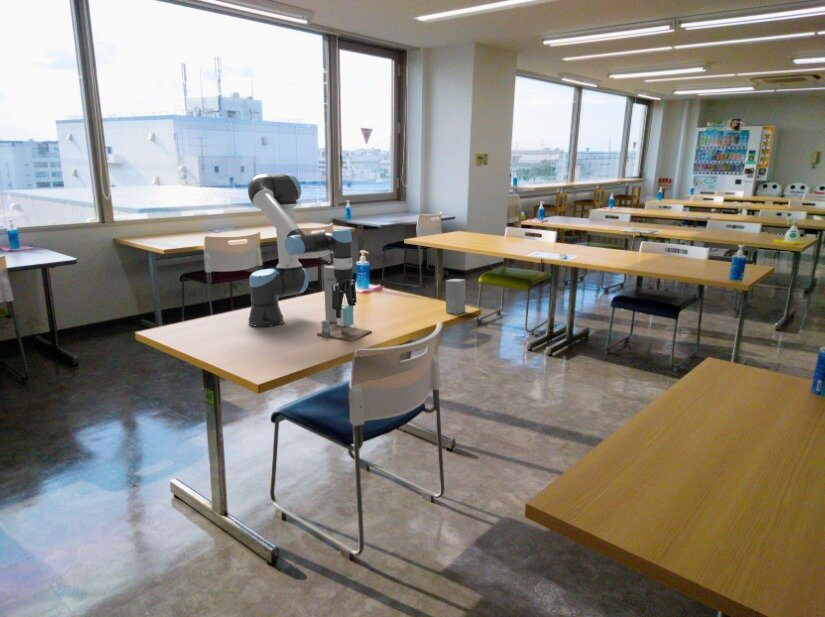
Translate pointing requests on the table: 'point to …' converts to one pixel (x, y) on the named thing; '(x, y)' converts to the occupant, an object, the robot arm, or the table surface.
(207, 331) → the table surface
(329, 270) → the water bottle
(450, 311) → the skincare box
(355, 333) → the stud board
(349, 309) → the cap
